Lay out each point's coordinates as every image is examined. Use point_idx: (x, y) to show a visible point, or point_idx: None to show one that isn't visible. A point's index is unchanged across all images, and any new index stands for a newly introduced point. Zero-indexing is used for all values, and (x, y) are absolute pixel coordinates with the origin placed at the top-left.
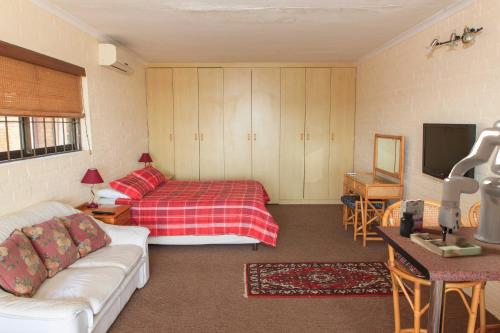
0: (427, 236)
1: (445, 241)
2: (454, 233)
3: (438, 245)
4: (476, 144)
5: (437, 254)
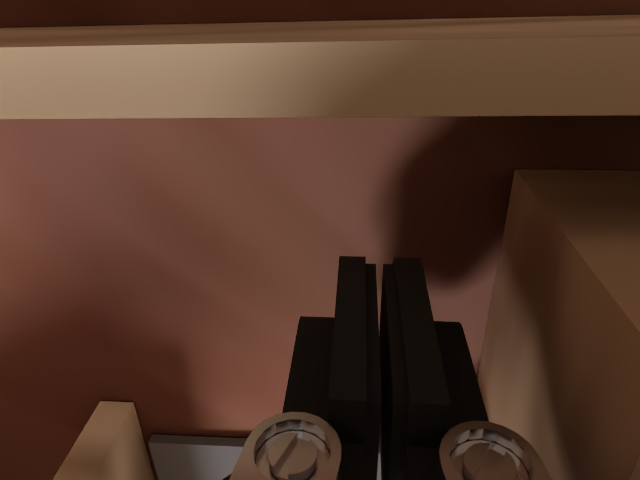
0: (116, 477)
1: None
2: (629, 470)
3: None
4: None
5: None
